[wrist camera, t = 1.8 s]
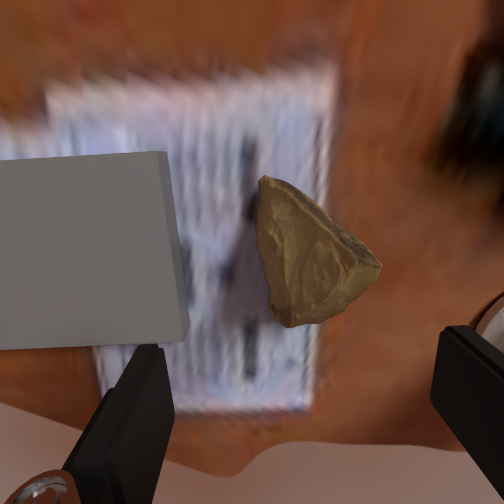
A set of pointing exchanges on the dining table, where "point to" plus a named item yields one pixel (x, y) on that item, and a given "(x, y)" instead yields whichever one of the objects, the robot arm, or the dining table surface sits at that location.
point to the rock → (308, 257)
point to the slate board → (89, 252)
